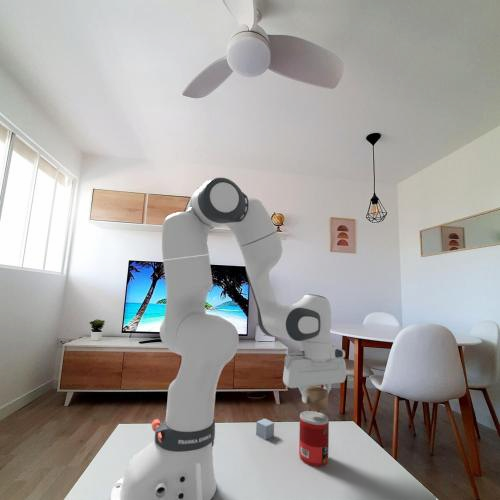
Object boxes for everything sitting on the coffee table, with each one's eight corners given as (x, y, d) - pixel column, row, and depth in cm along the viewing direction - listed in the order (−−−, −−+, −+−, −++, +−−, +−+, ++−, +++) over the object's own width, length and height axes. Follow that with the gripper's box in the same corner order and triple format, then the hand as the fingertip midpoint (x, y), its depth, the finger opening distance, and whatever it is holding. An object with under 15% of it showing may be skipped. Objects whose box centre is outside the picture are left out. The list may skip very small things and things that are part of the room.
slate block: (265, 440, 87) (265, 426, 88) (256, 435, 90) (256, 421, 91) (273, 436, 90) (274, 422, 91) (264, 431, 93) (264, 418, 93)
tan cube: (313, 411, 77) (313, 392, 78) (302, 404, 82) (302, 386, 83) (327, 409, 79) (327, 390, 80) (316, 402, 84) (316, 384, 85)
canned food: (329, 469, 74) (329, 424, 76) (298, 464, 76) (299, 419, 77) (327, 453, 81) (327, 412, 83) (299, 449, 83) (300, 409, 85)
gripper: (291, 354, 76) (290, 409, 74) (349, 351, 84) (349, 400, 82) (279, 349, 82) (278, 400, 80) (335, 347, 90) (335, 393, 88)
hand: (315, 400), depth 81 cm, fingers closed on tan cube, 5 cm apart
